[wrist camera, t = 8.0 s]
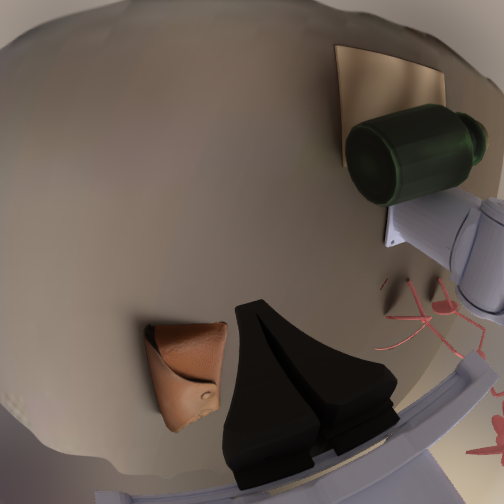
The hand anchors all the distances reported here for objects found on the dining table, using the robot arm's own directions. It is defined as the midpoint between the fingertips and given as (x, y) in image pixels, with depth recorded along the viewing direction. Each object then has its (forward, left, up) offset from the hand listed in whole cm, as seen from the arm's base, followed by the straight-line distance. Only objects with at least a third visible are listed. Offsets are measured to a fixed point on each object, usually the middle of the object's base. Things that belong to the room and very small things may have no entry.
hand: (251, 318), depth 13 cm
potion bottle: (-11, -5, -6) cm, 14 cm away
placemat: (-20, -9, -10) cm, 24 cm away
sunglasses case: (+6, +17, -11) cm, 21 cm away
